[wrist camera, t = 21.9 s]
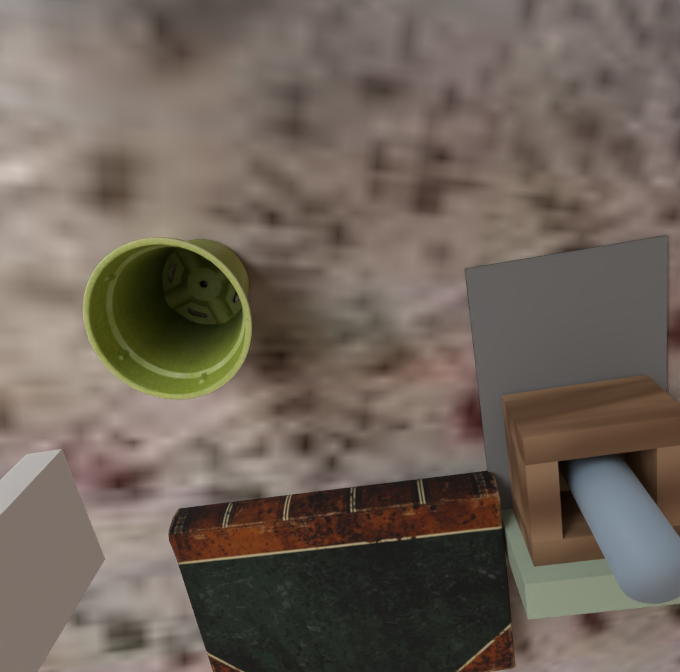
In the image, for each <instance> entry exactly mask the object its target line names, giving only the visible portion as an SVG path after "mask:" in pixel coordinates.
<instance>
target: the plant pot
mask: <svg viewBox="0 0 680 672" xmlns="http://www.w3.org/2000/svg"><path fill="white" fill-rule="evenodd" d="M172 264H176V269H175V272H174V275H173V279H172V282H170V280H169V270H170V267H171V265H172ZM201 281H205V282H207V287H206V288H204V287H201V285H200V282H201ZM236 292H237V294H238V296H239V300H238V301H237V302H233V299H234V296H235V294H236ZM248 294H249V278H248V274H247V272H246V269H245V267H244V265H243V264H242V262H241V261H240V259H239V258H238V256H237V255H236V254H235V253H234V252H233V251H232V250H231V249H229V248H228V247H226V246H225V245H223V244H221V243H218V242H215V241H212V240H205V239H195V240H190V241H184V240H179V239H174V238H165V237H155V238H146V239H140V240H137V241H133V242H130V243H128V244H125V245H123V246H121V247H119V248H117V249H116V250H114V251H113V252H111V253H110V254H108V255H107V256H106V257H105V258H104V259H103V260H102V261H101V262H100V263H99V264H98V266H97V267H96V268H95V270H94V271H93V273H92V275H91V277H90V279H89V281H88V284H87V286H86V290H85V293H84V301H83V319H84V325H85V328H86V332H87V335H88V338H89V341H90V343H91V345H92V347H93V349H94V351H95V353H96V354H97V356H98V357H99V359H100V360H101V362H102V363H103V364H104V365H105V366H106V367H107V368H108V370H109V371H111V372H112V373H113V374H114V375H115V376H116V377H118V378H119V379H120V380H121V381H123V382H124V383H125V384H127V385H128V386H130V387H132V388H134V389H136V390H138V391H140V392H142V393H145V394H148V395H152V396H154V397H159V398H164V399H177V400H180V399H192V398H196V397H200V396H203V395H206V394H209V393H211V392H213V391H215V390H217V389H219V388H220V387H222V386H223V385H225V384H226V383H227V382H229V381H230V380H231V379H232V378H233V377H234V376H235V374H236V373H237V372H238V371H239V369H240V368H241V366H242V365H243V363H244V361H245V359H246V356H247V354H248V351H249V348H250V344H251V338H252V315H251V310H250V305H249V302H248ZM189 309H192V310H194V311H197V312H200V313H203V314H207V316H206V318H203V317H199V316H194V315H192V314H190V313H189V312H188V310H189Z"/></svg>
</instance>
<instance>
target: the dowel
mask: <svg viewBox="0 0 680 672" xmlns="http://www.w3.org/2000/svg"><path fill="white" fill-rule="evenodd" d="M558 467H559V469H560V471H561V473H562V475H563V477H564V479H565V481H566V483H567V484H568V486H569V488H570V490H571V492H572V494H573V496H574V498H575V500H576V502H577V504H578V506H579V508H580V510H581V512H582V514H583V516H584V518H585V520H586V522H587V524H588V526H589V528H590V530H591V531H592V533H593V535H594V537H595V539H596V541H597V543H598V545H599V547H600V549H601V551H602V553H603V555H604V557H605V559H606V561H607V563H608V565H609V567H610V569H611V571H612V573H613V575H614V576H615V578H616V580H617V582H618V584H619V586H620V588H621V590H622V591H623V592H624V593H625V594H626V595H627V596H628V597H630V598H631V599H633V600H636V601H638V602H642V603H648V604H658V603H664V602H668V601H671V600H674V599H676V598H678V597H680V537H679V536H678V534H677V533H676V531H675V530H674V529H673V527H672V526H671V524H670V523H669V522H668V520H667V519H666V517H665V516H664V515H663V513H662V512H661V510H660V509H659V508H658V506H657V505H656V503H655V502H654V501H653V499H652V498H651V496H650V495H649V494H648V492H647V491H646V489H645V488H644V487H643V485H642V484H641V482H640V481H639V480H638V478H637V477H636V476H635V474H634V473H633V471H632V470H631V469H630V467H629V466H628V464H627V463H626V462H625V460H624V459H623V457H622V456H621V455H620V453H618V454H610V455H602V456H595V457H587V458H579V459H572V460H564V461H558Z"/></svg>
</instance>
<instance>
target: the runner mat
mask: <svg viewBox="0 0 680 672" xmlns="http://www.w3.org/2000/svg"><path fill="white" fill-rule="evenodd" d="M667 272H668V236H666V235H665V236H659V237H653V238H647V239H641V240H635V241H629V242H623V243H617V244H611V245H605V246H599V247H593V248H587V249H581V250H575V251H569V252H563V253H557V254H551V255H545V256H538V257H532V258H526V259H520V260H514V261H508V262H502V263H496V264H490V265H484V266H478V267H472V268H466V269H465V274H466V283H467V292H468V301H469V310H470V319H471V328H472V337H473V346H474V355H475V364H476V372H477V381H478V390H479V399H480V408H481V417H482V426H483V435H484V444H485V453H486V462H487V471H488V472H492V473H493V475H494V477H495V480H496V484H497V489H498V493H499V497H500V503H501V510H505V509H513V507H512V497H511V487H510V476H509V466H508V456H507V446H506V435H505V425H504V415H503V405H502V395H507V394H514V393H521V392H528V391H535V390H542V389H549V388H556V387H563V386H570V385H577V384H584V383H591V382H598V381H605V380H612V379H619V378H626V377H633V376H640V375H648V376H649V377H650V378H651V379H652V380H653V381H654V382H655V383H657V384H658V385H659V386H660V387H661V388H662V389H663V390H664V391H666V392H667Z"/></svg>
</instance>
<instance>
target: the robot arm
mask: <svg viewBox="0 0 680 672" xmlns="http://www.w3.org/2000/svg"><path fill="white" fill-rule="evenodd" d="M104 560H105V558H104V555H103V553H102V550H101V548H100V545H99V543H98V540H97V537H96V535H95V532H94V530H93V527H92V525H91V522H90V520H89V517H88V514H87V512H86V509H85V507H84V504H83V502H82V499H81V497H80V494H79V492H78V489H77V486H76V484H75V481H74V479H73V476H72V474H71V471H70V469H69V466H68V463H67V461H66V458H65V456H64V453H63V451H62V449H59V450H52V451H46V452H39V453H32V454H26V455H25V456H24V457H23V458H22V459H21V460H20V461H19V462H18V463H17V464H16V465H15V466H14V467H13V468H12V469H11V470H10V471H9V472H8V473H7V474H6V475H5V476H4V477H3V478H2V479H1V480H0V672H38V670H39V668H40V667H41V665H42V663H43V662H44V660H45V658H46V657H47V655H48V653H49V652H50V650H51V648H52V647H53V645H54V643H55V642H56V640H57V638H58V637H59V635H60V633H61V632H62V630H63V628H64V627H65V625H66V623H67V622H68V620H69V618H70V617H71V615H72V613H73V612H74V610H75V608H76V607H77V605H78V603H79V602H80V600H81V598H82V596H83V595H84V593H85V591H86V590H87V588H88V586H89V585H90V583H91V581H92V580H93V578H94V576H95V575H96V573H97V571H98V570H99V568H100V566H101V565H102V563H103V561H104Z"/></svg>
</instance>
